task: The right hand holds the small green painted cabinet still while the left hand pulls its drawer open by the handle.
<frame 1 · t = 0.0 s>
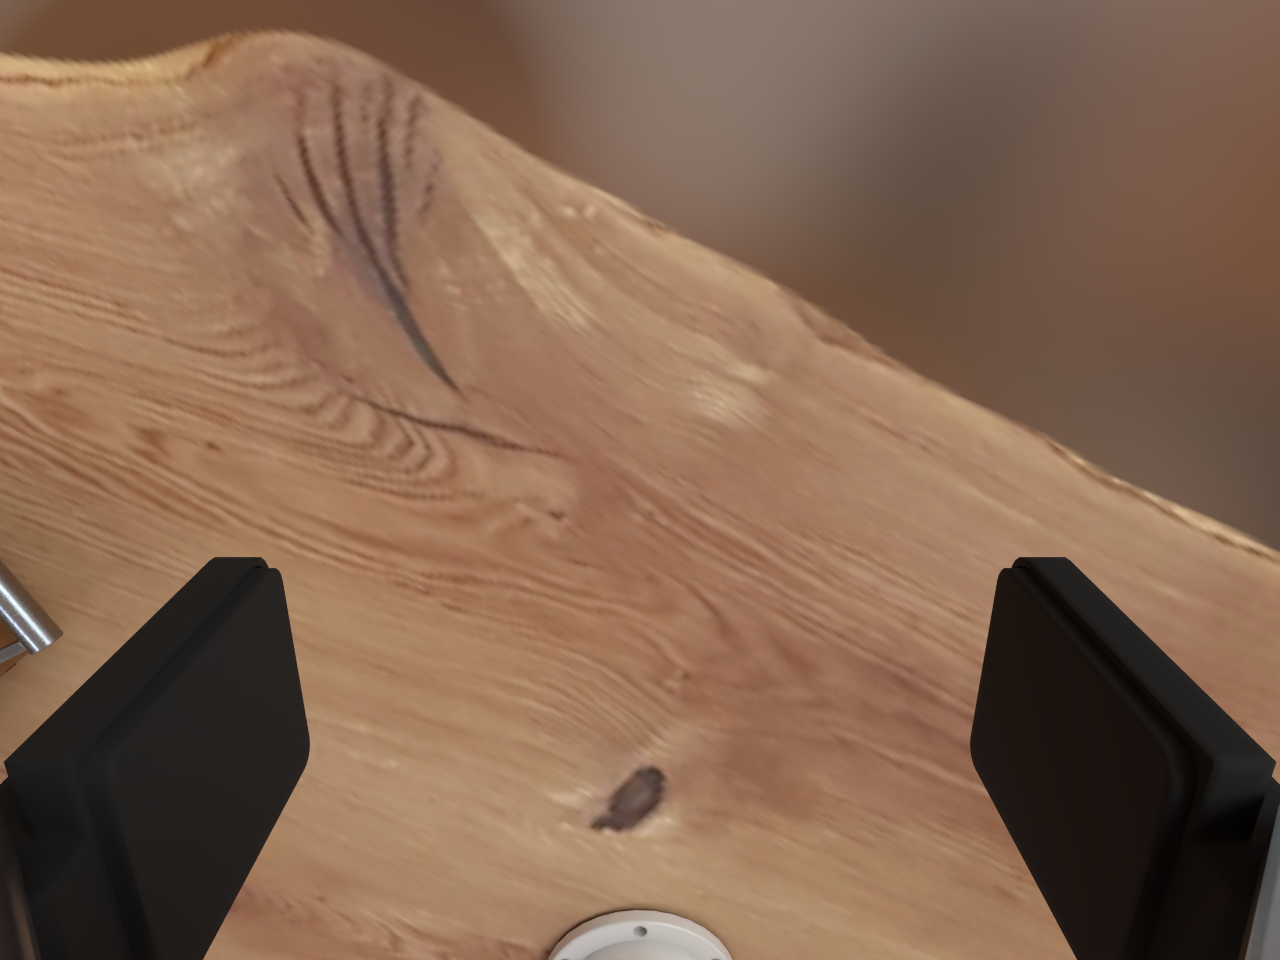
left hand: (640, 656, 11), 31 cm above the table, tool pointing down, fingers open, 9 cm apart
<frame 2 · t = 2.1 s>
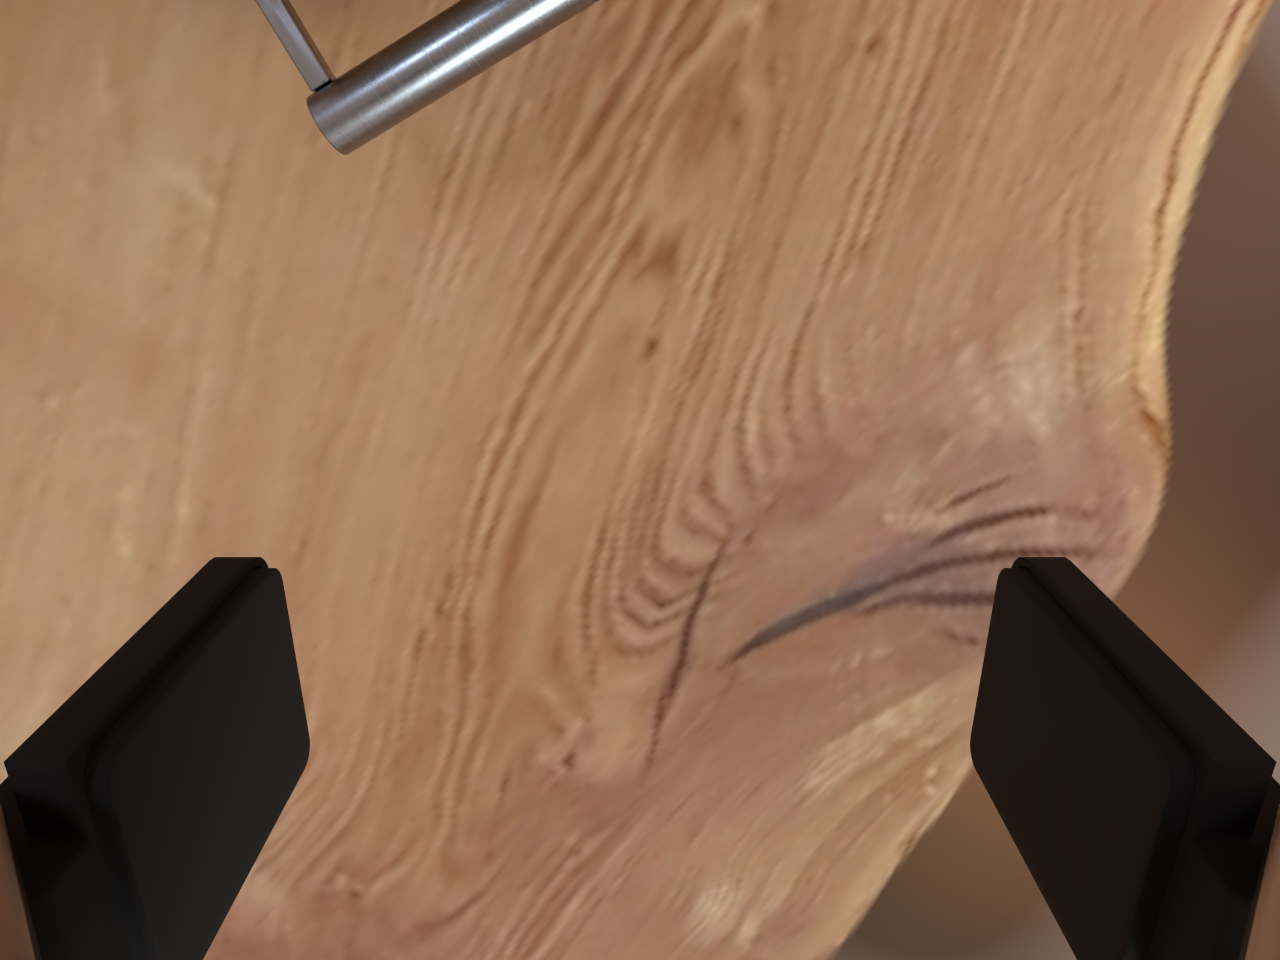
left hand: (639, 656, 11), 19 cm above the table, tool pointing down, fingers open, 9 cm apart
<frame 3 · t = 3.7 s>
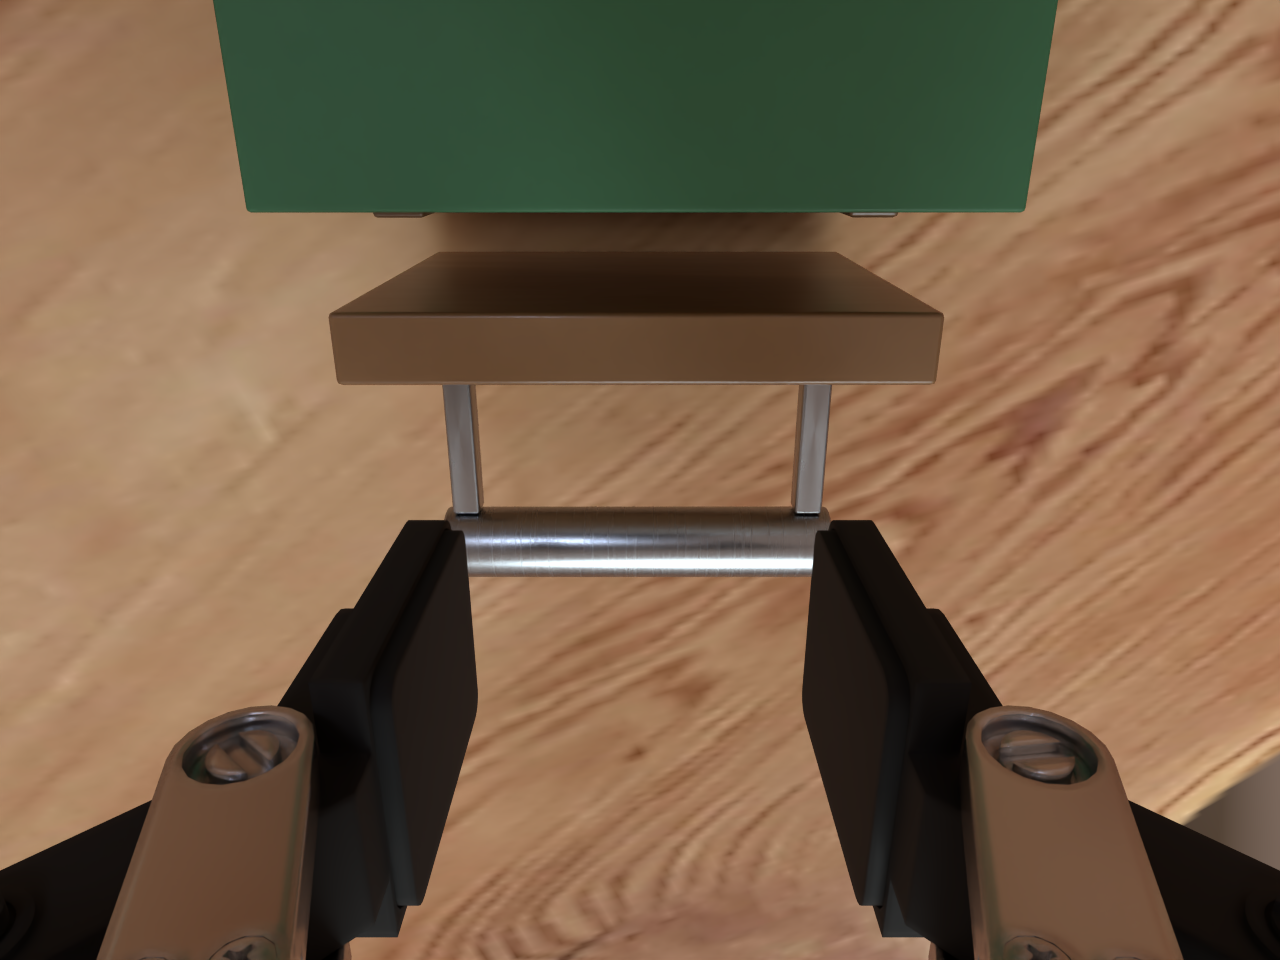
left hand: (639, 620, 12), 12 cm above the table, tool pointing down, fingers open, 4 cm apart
drawer: (636, 107, 16), point 5 cm above the table, slide at 1.6 cm
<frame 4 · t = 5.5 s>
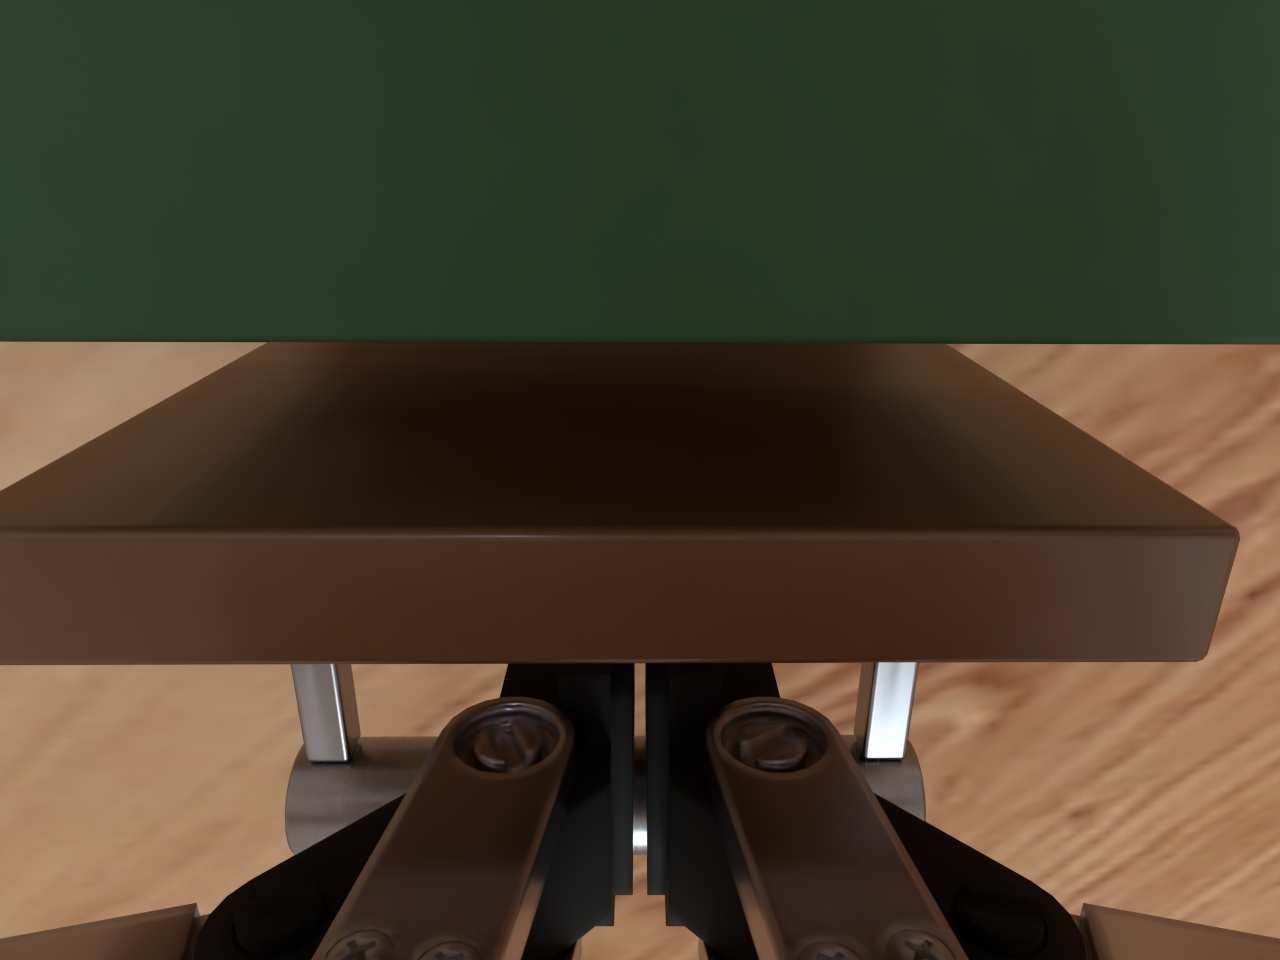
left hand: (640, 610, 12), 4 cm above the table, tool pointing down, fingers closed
drawer: (601, 96, 9), point 5 cm above the table, slide at 1.6 cm, touching left hand
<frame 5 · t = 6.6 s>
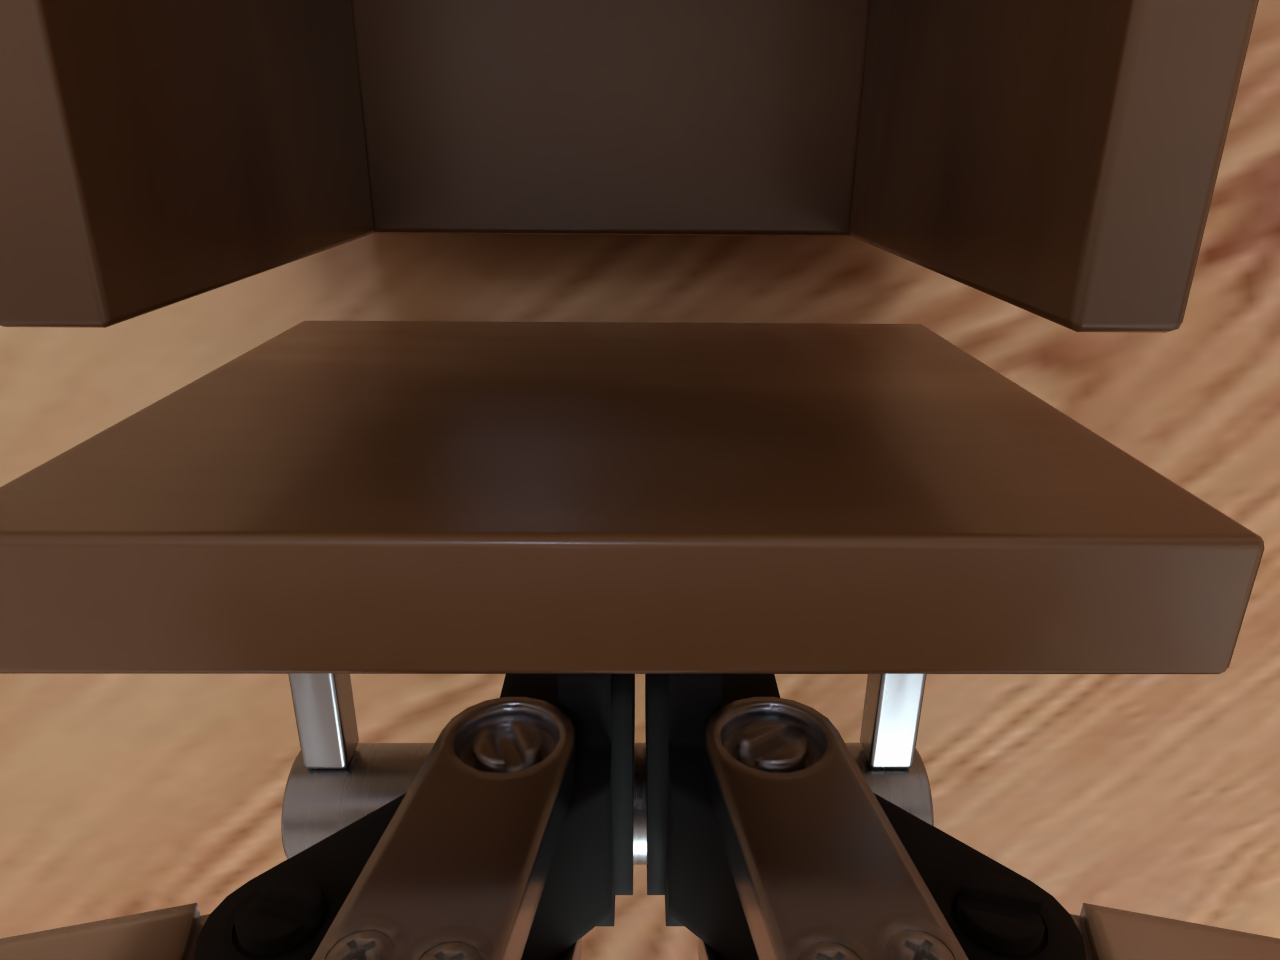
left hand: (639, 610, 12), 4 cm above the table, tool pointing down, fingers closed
drawer: (606, 92, 9), point 5 cm above the table, slide at 8.1 cm, touching left hand
when the right hand's fingers open (5 cm above the table, at t = 8.3 s): cabinet stays where it is, on the table.
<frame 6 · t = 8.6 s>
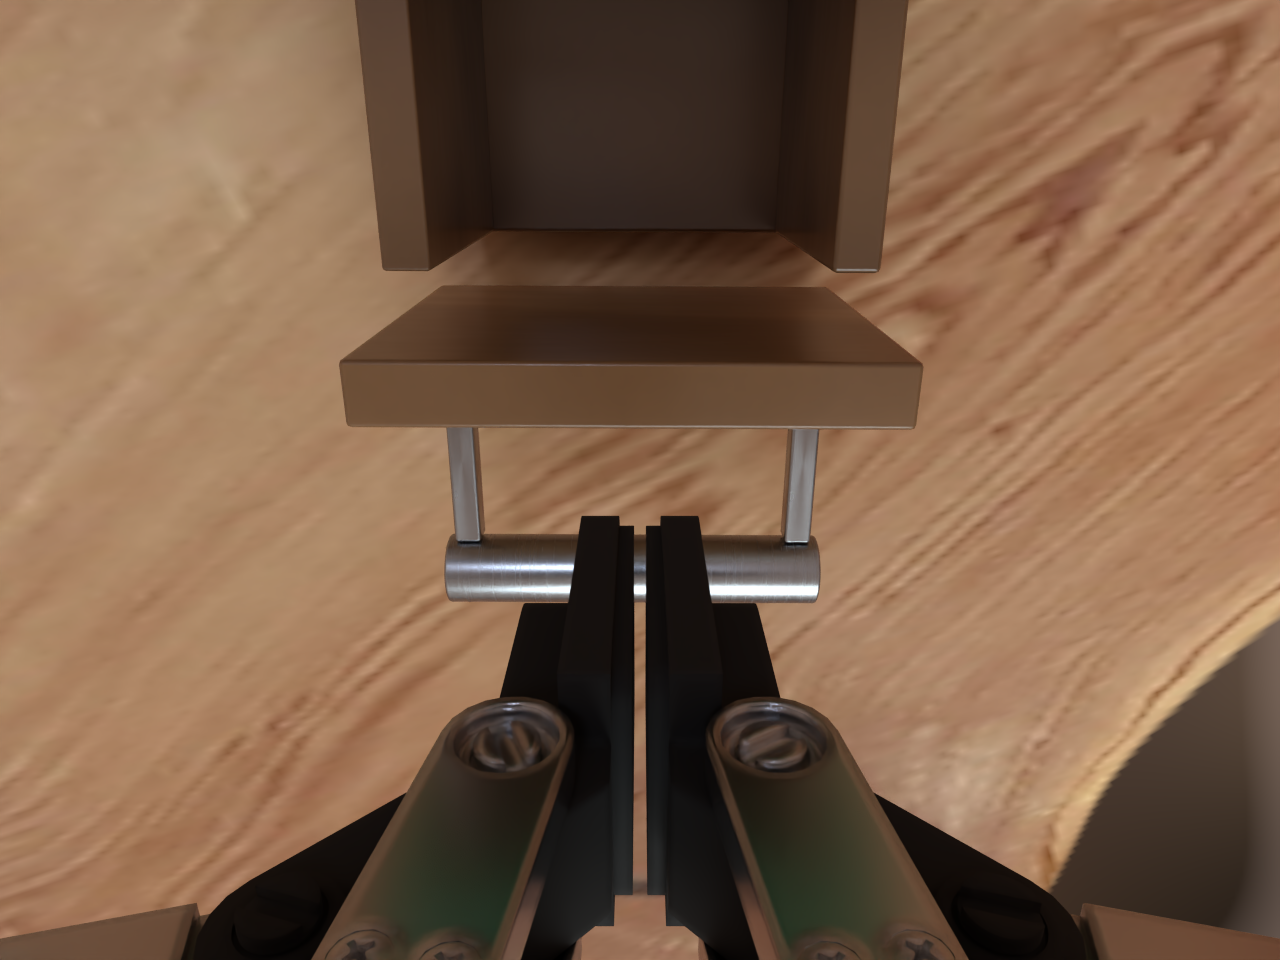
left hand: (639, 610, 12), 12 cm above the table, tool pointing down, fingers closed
drawer: (633, 158, 17), point 5 cm above the table, slide at 8.1 cm
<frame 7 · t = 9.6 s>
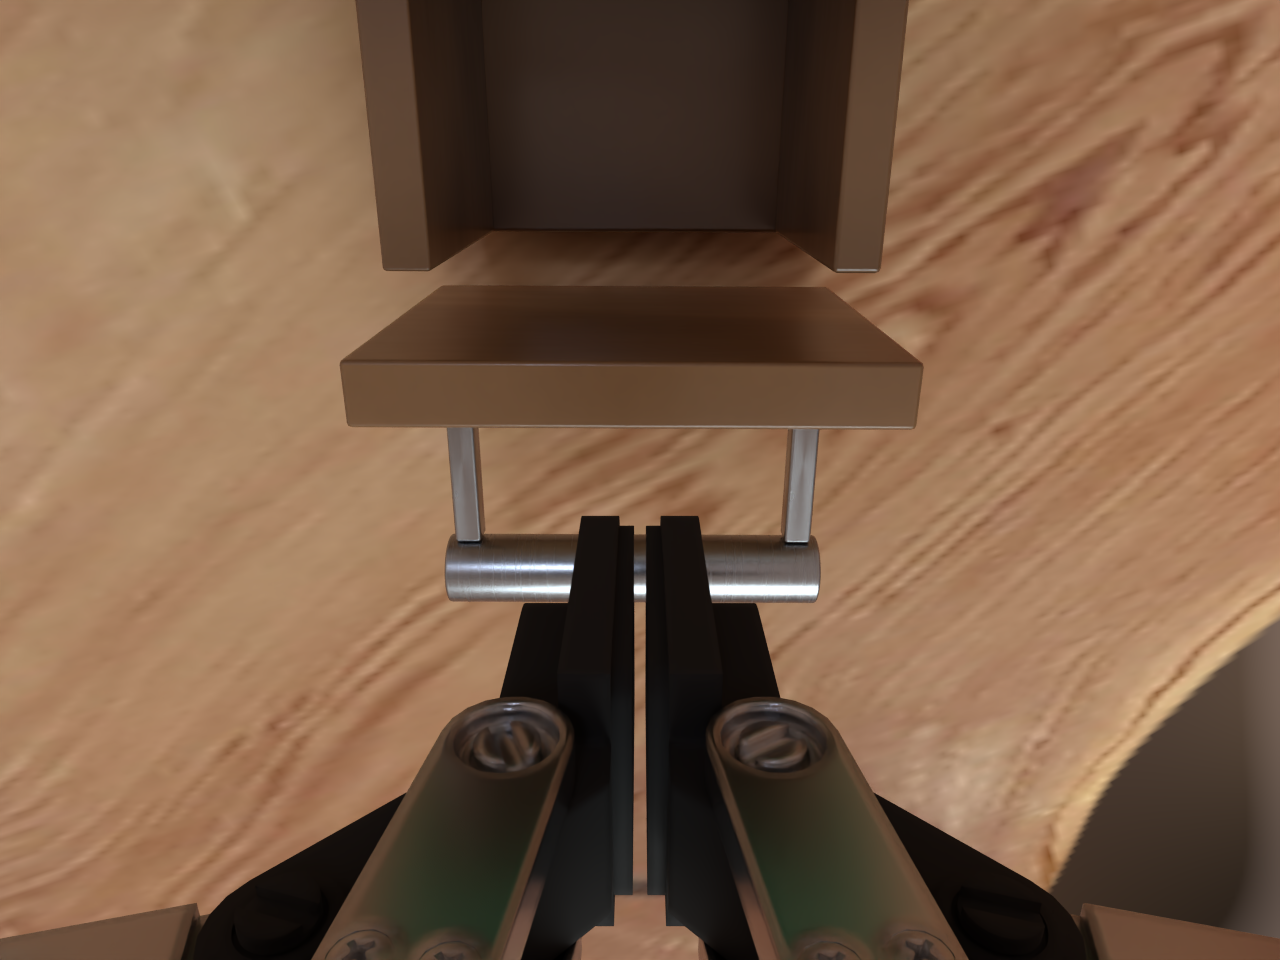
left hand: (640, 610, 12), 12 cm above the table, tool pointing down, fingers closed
drawer: (633, 158, 17), point 5 cm above the table, slide at 8.1 cm
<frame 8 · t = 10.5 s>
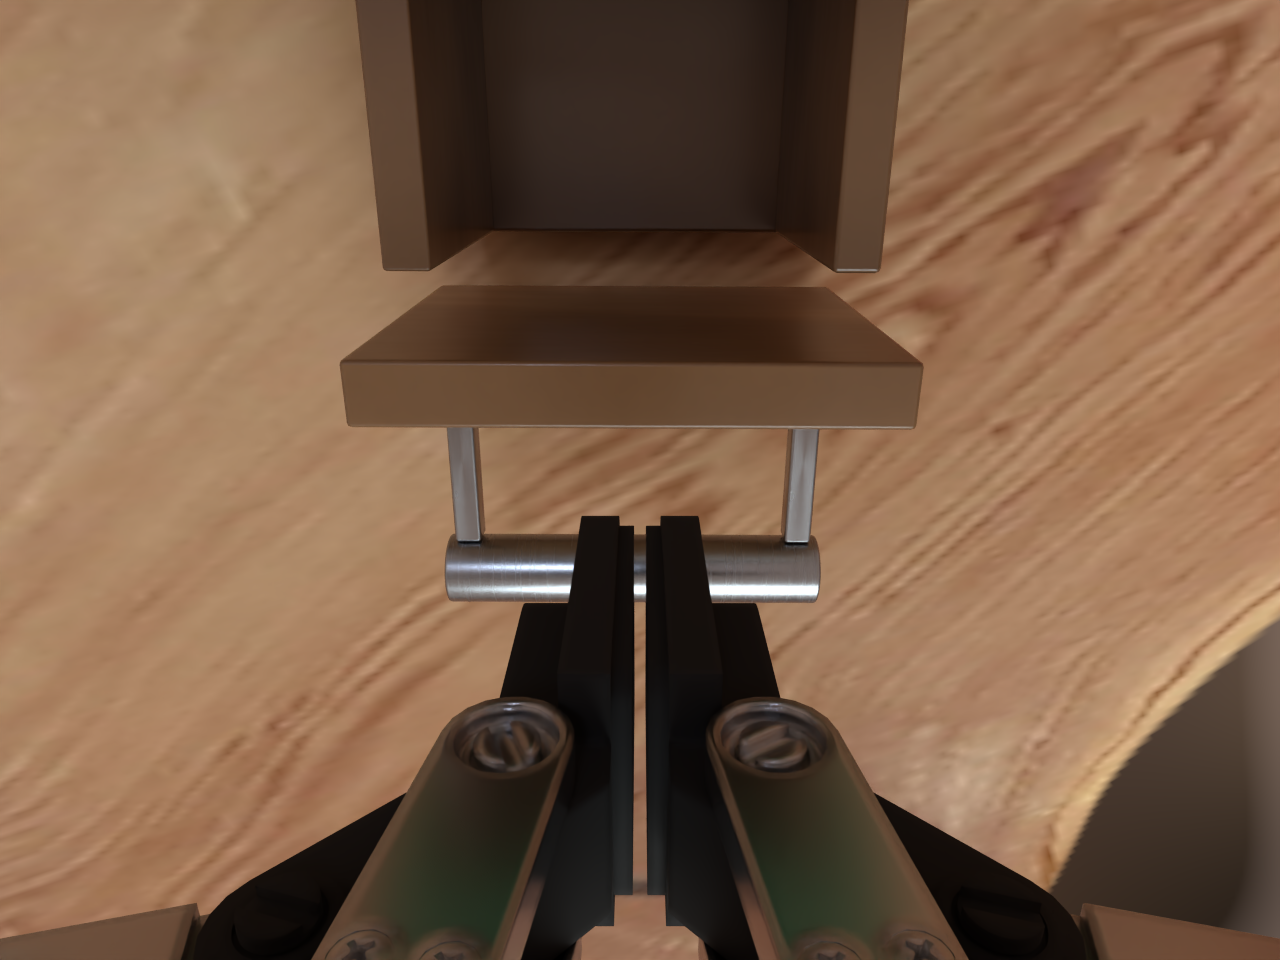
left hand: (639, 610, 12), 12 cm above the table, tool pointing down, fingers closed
drawer: (633, 158, 17), point 5 cm above the table, slide at 8.1 cm
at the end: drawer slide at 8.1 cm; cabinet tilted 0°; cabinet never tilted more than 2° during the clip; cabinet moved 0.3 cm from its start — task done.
